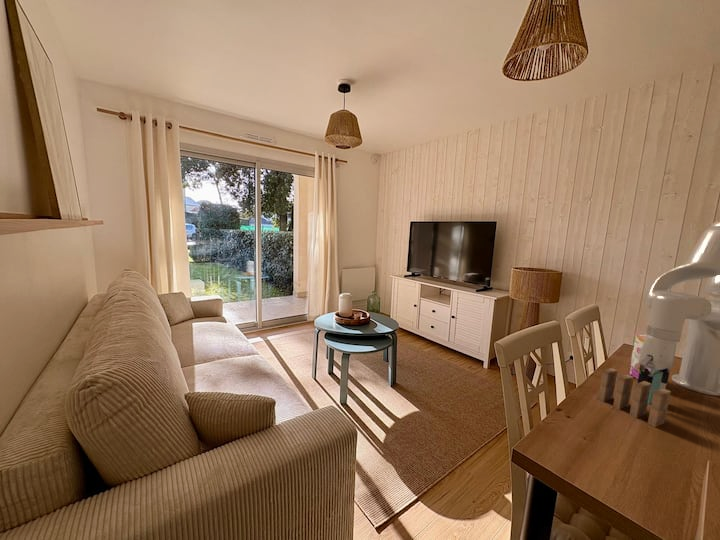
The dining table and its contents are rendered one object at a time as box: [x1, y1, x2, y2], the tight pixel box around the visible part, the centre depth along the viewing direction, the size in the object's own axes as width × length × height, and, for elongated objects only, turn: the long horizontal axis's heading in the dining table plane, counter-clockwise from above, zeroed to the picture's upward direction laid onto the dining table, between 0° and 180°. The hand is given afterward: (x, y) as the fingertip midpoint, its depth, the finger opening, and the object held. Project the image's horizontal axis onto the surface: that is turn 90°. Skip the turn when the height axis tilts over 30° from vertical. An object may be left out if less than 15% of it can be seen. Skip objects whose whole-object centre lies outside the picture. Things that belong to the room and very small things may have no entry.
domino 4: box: [647, 388, 672, 428], centre depth 82 cm, size 5×2×10 cm, turn 112°
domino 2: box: [612, 373, 635, 410], centre depth 89 cm, size 5×2×10 cm, turn 112°
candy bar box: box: [628, 333, 668, 390], centre depth 104 cm, size 11×5×16 cm, turn 168°
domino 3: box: [629, 381, 651, 419], centre depth 86 cm, size 5×2×10 cm, turn 112°
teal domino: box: [647, 370, 663, 405], centre depth 93 cm, size 5×2×10 cm, turn 112°
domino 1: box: [597, 367, 619, 403], centre depth 93 cm, size 5×2×10 cm, turn 112°
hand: (652, 384), depth 92 cm, fingers open, 9 cm apart
